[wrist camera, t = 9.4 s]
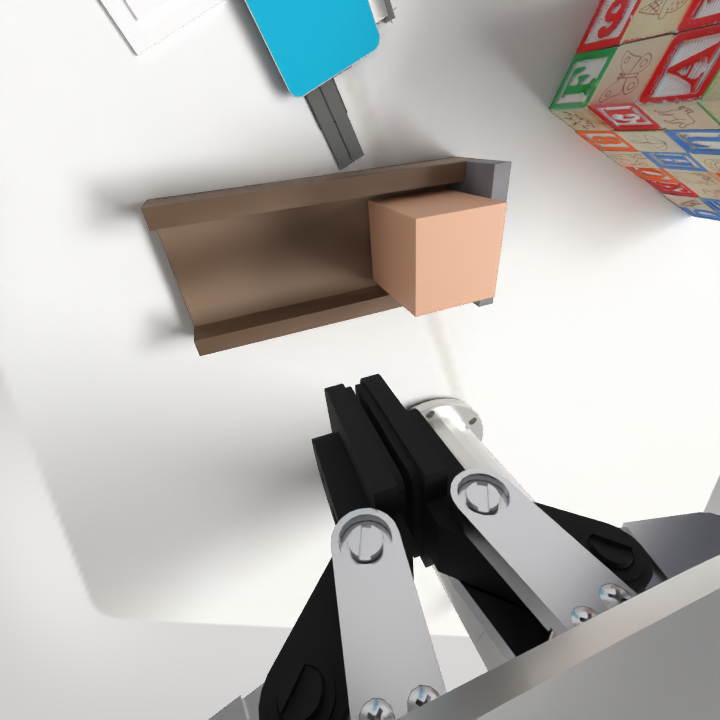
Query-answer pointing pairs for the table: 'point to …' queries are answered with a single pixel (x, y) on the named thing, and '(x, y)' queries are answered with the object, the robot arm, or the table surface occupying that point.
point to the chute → (293, 247)
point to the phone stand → (282, 45)
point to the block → (436, 247)
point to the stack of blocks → (652, 95)
